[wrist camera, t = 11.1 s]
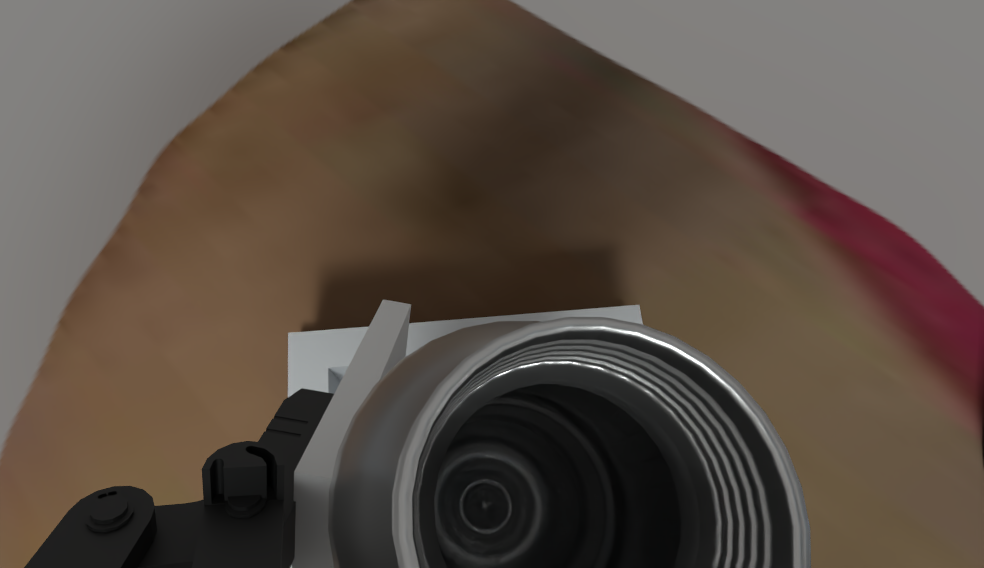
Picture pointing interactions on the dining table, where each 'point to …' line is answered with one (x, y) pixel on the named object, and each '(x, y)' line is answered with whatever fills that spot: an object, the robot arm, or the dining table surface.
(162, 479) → the dining table surface
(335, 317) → the dining table surface
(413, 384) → the plastic bottle
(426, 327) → the light grey square tray
